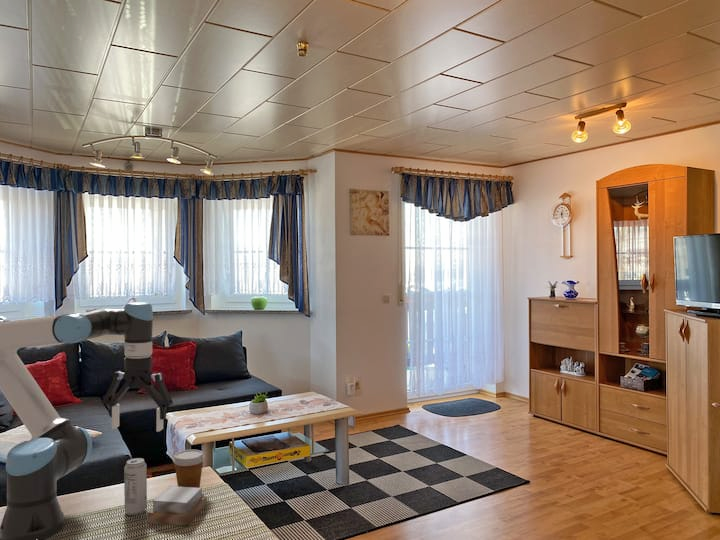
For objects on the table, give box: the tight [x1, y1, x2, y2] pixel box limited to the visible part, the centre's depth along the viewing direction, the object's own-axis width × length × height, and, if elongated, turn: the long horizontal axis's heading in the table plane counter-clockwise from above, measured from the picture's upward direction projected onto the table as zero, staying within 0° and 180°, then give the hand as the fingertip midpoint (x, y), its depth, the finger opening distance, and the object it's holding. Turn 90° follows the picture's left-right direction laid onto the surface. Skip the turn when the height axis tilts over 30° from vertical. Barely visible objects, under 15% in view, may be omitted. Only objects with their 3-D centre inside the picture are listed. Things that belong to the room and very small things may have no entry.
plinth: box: [147, 485, 207, 526], centre depth 160 cm, size 12×12×6 cm
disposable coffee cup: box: [172, 449, 205, 488], centre depth 176 cm, size 10×10×12 cm
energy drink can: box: [123, 457, 148, 516], centre depth 162 cm, size 6×6×15 cm
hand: (137, 428), depth 161 cm, fingers open, 13 cm apart
